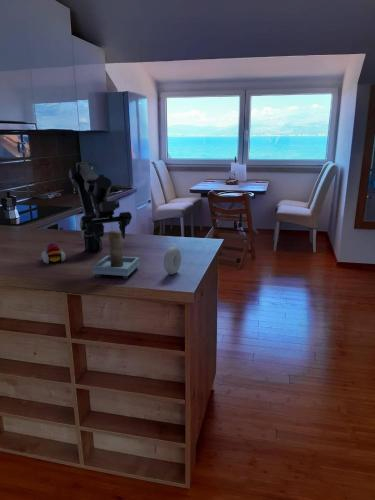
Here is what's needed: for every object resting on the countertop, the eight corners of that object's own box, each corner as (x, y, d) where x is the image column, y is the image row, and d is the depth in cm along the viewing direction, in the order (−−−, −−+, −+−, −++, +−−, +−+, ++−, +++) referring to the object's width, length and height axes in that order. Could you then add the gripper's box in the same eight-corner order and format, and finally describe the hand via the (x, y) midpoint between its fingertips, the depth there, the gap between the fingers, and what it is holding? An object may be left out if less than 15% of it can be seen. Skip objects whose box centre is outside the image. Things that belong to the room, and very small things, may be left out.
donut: (174, 268, 144) (174, 243, 141) (182, 270, 143) (182, 244, 140) (162, 277, 136) (161, 250, 133) (170, 278, 134) (170, 251, 131)
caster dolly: (93, 277, 136) (92, 266, 134) (107, 266, 148) (107, 255, 147) (128, 280, 133) (127, 268, 132) (140, 268, 145) (139, 257, 144)
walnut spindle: (108, 265, 139) (106, 232, 136) (117, 262, 143) (115, 229, 139) (116, 268, 137) (114, 234, 133) (125, 265, 140) (123, 231, 136)
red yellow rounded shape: (44, 266, 149) (42, 247, 147) (41, 259, 157) (39, 242, 155) (67, 262, 153) (65, 245, 151) (62, 256, 161) (60, 239, 159)
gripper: (78, 194, 136) (89, 231, 130) (129, 190, 144) (141, 225, 138) (75, 212, 145) (85, 247, 139) (123, 207, 153) (134, 240, 147)
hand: (112, 239), depth 141 cm, fingers open, 9 cm apart
